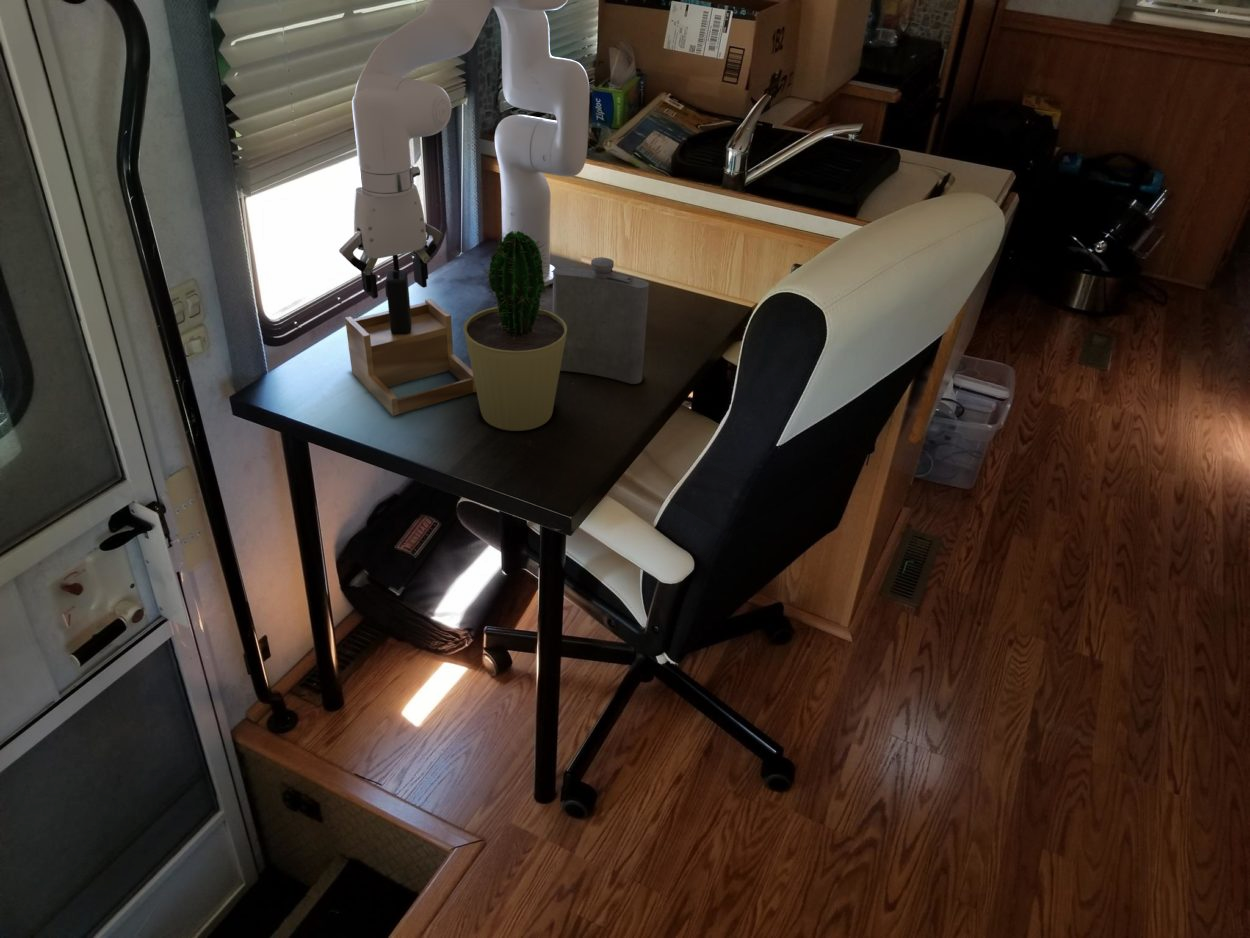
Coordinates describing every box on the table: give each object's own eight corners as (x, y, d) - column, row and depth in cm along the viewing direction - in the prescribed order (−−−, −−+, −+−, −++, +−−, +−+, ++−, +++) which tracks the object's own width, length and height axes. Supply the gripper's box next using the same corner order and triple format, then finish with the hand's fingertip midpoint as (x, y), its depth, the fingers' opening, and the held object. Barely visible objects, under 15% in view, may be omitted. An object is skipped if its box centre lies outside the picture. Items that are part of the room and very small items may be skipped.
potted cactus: (470, 386, 153) (462, 208, 136) (564, 387, 154) (568, 211, 137) (463, 438, 140) (454, 248, 123) (566, 438, 142) (570, 251, 125)
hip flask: (549, 368, 159) (550, 258, 148) (557, 358, 163) (558, 249, 151) (639, 385, 156) (647, 273, 145) (645, 374, 160) (653, 264, 148)
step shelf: (351, 372, 155) (344, 317, 149) (434, 351, 162) (430, 298, 157) (392, 416, 144) (387, 359, 139) (478, 391, 152) (476, 336, 146)
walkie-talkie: (410, 334, 150) (403, 245, 141) (389, 335, 149) (380, 245, 141) (411, 321, 154) (404, 233, 145) (390, 321, 153) (382, 233, 145)
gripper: (428, 164, 144) (435, 270, 154) (319, 180, 135) (334, 292, 146) (451, 178, 139) (457, 287, 150) (339, 195, 131) (353, 310, 141)
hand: (396, 289), depth 147 cm, fingers open, 7 cm apart
